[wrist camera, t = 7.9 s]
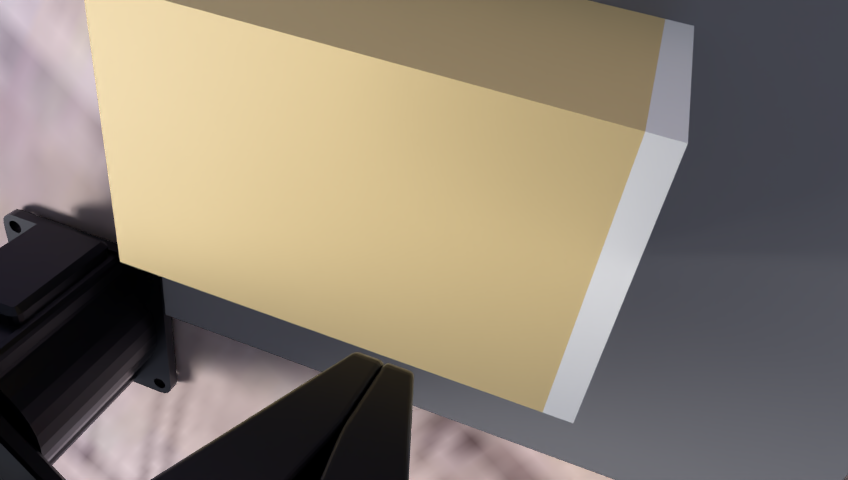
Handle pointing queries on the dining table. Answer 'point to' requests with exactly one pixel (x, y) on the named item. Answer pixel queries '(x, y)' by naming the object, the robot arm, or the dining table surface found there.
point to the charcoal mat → (696, 277)
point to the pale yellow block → (400, 169)
